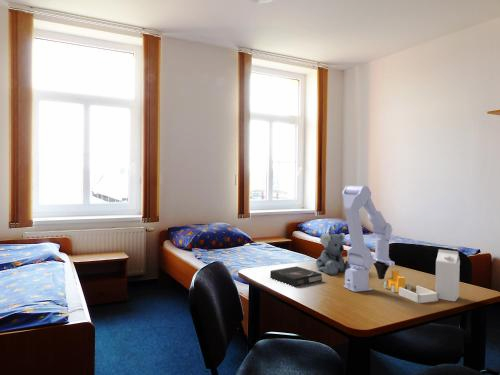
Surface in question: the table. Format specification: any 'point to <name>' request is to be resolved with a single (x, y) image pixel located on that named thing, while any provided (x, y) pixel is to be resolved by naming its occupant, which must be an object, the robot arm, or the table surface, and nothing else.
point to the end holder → (424, 295)
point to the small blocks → (385, 285)
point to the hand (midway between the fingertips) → (381, 278)
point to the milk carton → (447, 275)
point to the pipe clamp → (396, 281)
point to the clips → (407, 287)
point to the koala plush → (332, 254)
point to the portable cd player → (296, 276)
